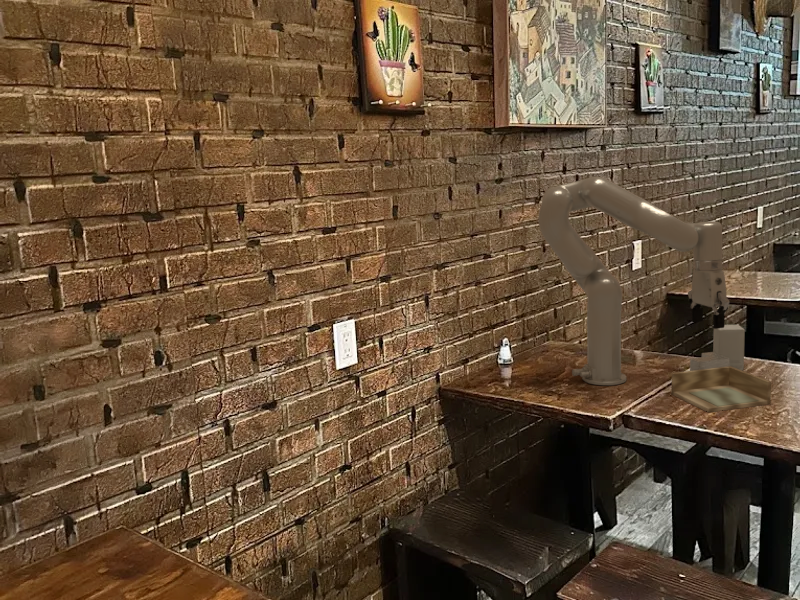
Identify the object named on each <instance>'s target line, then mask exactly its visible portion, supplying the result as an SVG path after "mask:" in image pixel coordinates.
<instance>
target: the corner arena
mask: <svg viewBox="0 0 800 600" xmlns="http://www.w3.org/2000/svg"><path fill="white" fill-rule="evenodd" d="M671 395H672V396H675V397H676V398H678V399H680V400H682V401H684V402H685V403H688V404H690V405H692V406H694V407H696V408H698V409H700V410H703V411H704V412H706V411H707V412H706V413H713V411H715V412H722V410H723V411H729V410H730V411H731V410H735V409H743V408H752V407H758V406H759V407H760V406H765V405H766V406H767V405H771V403H772V402H771V398H772V397H771V396H772V381H771V380H768V379H765V378H763V377H760V376H757V375H754V374H752V373H749V372H747V371H745V370H739V369H737V368H734V367H731V366H727V367H719V368H711V369H702V370H694V371H690V370H687V371H680V372H679V371H678V372H672V373H671Z"/></svg>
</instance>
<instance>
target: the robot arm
mask: <svg viewBox="0 0 800 600" xmlns="http://www.w3.org/2000/svg"><path fill="white" fill-rule="evenodd" d="M590 207H593V208H595V209H596V210H598V211H600V212H602V213H603V214H606V215H607V216H609V217H612V218H613V219H615V220H617V221H619V222H620V223H622V224H623V225H626V226H628V227H629V228H631V229H633V230H637V231H639V232H642V233H644V234H647V235H648V236H650V237H651V238H654V239H656V240H658V241H659V242H661V243H663V244H664V245H667V247H669V248H671V249H674V250H675V251H677V252H682V253H683V252H684V253H685V252H689V251H690V252H691V251H692V250H693V252H692V253H693V254H692V255H693V256H692V257H693V261H692V263H693V266H692V267H693V271H692V278H691V289H690V290H689V291H688V292H687V295H688V296H687V297H688V301H689V304H690V309H691V322H692V323H699V322H700V323H701V322H703V321H704V314H703V313H704V309H703V307H702V306H704V307H709V308H712V311H713V313H714V314H713V315H712V328H713V330H714V329H718V328H724V325H725V315H726V313H727V311H728V309H729V305H730V299H729V298H728V297H727V285H726V284H727V283H726V277H725V272H724V270H723V225H722V223H721V222H718V221H715V220H714V221H709V220H708V221H700V222H699V221H698V222H693V223H692V222H684V221H683V220H681V219H680V218H677V217H676V216H673V215H671V214H670V213H668V212H666V211H664V210H662V209H661V208H659V207H657V206H656V205H654V204H652V203H651V202H650V201H648V200H646V199H644V198H643V197H640V196H639V195H637V194H635V193H633V192H631V191H629V190H627V189H626V188H623V187H622V186H620V185H618V184H616V183H615V182H613V181H611V180H609V179H607V178H605V177H602V176H591V177H587V178H583V179H581V180H576V181H573V182H569V183H565V184H561V185H556V186H552V187H550V188H549V189H547V190H545V192H544V193H543V195H542V198H541V204H540V208H539V212H538V221H537V222H538V227H539V231H540V233H541V235H542V237H543V239H544V241H545V242H546V243H547V244H548V246H549V247H550V248H551V250H552V251H553V252H554V254H555V255H556V256H557V257H558V258H559V259H558V260H560V261H561V263H562V265H563V267H564V268H565V270H566V271H567V272H568V273H569V274H570V275H571V277H572V278H573V279H574V281H575V282H576V283H577V284H578V286H579V287H580V288H581V289H582V291H583V292H584V294H585V295H586V296H587V297H586V298H587V303H586V304H587V309H586V332H587V336H586V341H587V342H586V343H587V345H586V346H587V347H586V349H587V352H586V353H587V354H586V355H587V357H586V358H587V363H585V364H583V367H581V368H575V369H571V375H572V377H576V376H580V377H581V379H582V381H584V382H585V383H588V384H591V385H595V386H617V385H620V384H624V383H625V382H626V381H627V375H626V374H625V373H623V372H622V320H621V318H622V304H623V289H622V286H621V284H620V281H619V280H618V279H617V278H616V277H615V276H614V275H613V274H612V273H611V272H610V271H609V269H608V268H607V267H606V265H605V264H604V263H603V261H602V260H601V259H600V258H599V257H598V255H597V254H596V253H595V251H594V250H593V248H592V247H591V246H589V244H587V243H586V242H585V241H584V239H583V238H582V237H581V236H580V234H579V233H578V232H577V230H576V229H575V228H574V227H573V225H572V223H571V222H570V218H569V216H570V213H571V212H574V211H575V212H576V211H579V210H585V209H587V208H588V209H589V208H590Z"/></svg>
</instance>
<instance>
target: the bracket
mask: <svg viewBox="0 0 800 600" xmlns="http://www.w3.org/2000/svg"><path fill="white" fill-rule="evenodd" d="M729 365H730V358H727V357H724V356H722V355H719V354H716V353H714V352H713V351H710V352H702V353H701V357H694V358H690V359H689V371H694V370H702V369H711V368H719V367H727V366H729Z"/></svg>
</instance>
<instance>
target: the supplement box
mask: <svg viewBox="0 0 800 600" xmlns="http://www.w3.org/2000/svg"><path fill="white" fill-rule="evenodd" d="M745 331H746V329H744V328H743V326H740V325H739V324H724V328H718V329H714V328H713V344H712V345H713V346H712V347H713V348H712V352H714V353H716V354H719V355H722V356H724V357H727V358H730V365H729V366H731V367H734V368H737V369H739V370H742V371H745V370H744V369H745V367H744V366H745V339H746V338H745Z"/></svg>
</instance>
